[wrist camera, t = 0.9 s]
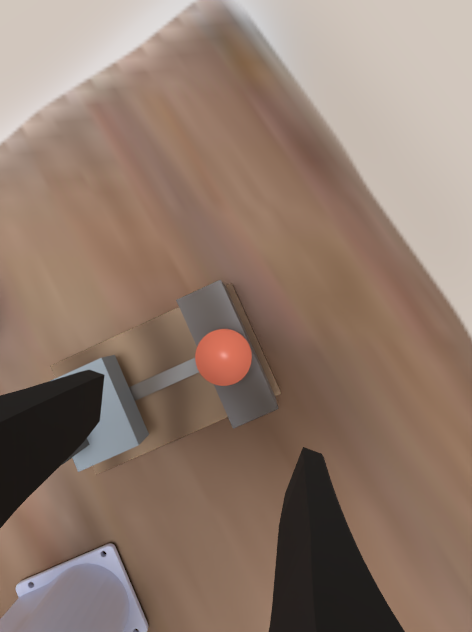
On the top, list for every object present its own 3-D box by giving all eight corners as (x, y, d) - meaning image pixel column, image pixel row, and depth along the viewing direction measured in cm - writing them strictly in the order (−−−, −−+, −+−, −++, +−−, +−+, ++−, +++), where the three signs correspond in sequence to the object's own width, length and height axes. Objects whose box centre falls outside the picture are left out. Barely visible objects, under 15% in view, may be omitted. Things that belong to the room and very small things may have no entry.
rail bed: (102, 468, 30) (70, 499, 25) (58, 364, 30) (17, 372, 25) (280, 390, 29) (285, 405, 24) (232, 284, 30) (227, 276, 24)
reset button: (211, 391, 23) (209, 394, 22) (189, 342, 23) (186, 343, 22) (260, 369, 23) (260, 371, 22) (238, 320, 23) (237, 320, 22)
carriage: (93, 458, 28) (49, 495, 22) (59, 379, 28) (7, 394, 22) (149, 434, 28) (120, 465, 22) (114, 354, 28) (76, 363, 22)
